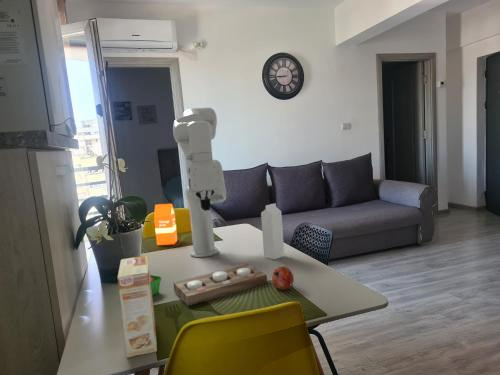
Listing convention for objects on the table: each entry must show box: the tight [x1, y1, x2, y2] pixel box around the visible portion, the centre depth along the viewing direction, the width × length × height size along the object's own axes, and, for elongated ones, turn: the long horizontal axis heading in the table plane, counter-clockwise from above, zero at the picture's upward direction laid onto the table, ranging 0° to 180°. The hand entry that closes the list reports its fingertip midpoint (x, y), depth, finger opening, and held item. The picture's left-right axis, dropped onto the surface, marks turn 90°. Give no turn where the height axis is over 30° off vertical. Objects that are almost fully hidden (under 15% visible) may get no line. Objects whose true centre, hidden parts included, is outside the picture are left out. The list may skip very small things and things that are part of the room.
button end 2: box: [237, 268, 251, 277], centre depth 125 cm, size 5×5×2 cm
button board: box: [173, 263, 268, 307], centre depth 120 cm, size 14×28×3 cm, turn 119°
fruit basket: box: [150, 274, 162, 296], centre depth 117 cm, size 11×9×11 cm
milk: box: [260, 202, 285, 261], centre depth 147 cm, size 6×6×22 cm
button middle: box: [213, 271, 227, 283], centre depth 120 cm, size 5×5×2 cm
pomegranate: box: [271, 265, 295, 291], centre depth 116 cm, size 7×7×10 cm
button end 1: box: [187, 280, 202, 290], centre depth 116 cm, size 5×5×2 cm
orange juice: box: [153, 203, 178, 246], centre depth 182 cm, size 8×9×20 cm
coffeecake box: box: [117, 255, 158, 358], centre depth 90 cm, size 15×7×20 cm, turn 17°
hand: (206, 209), depth 126 cm, fingers closed
